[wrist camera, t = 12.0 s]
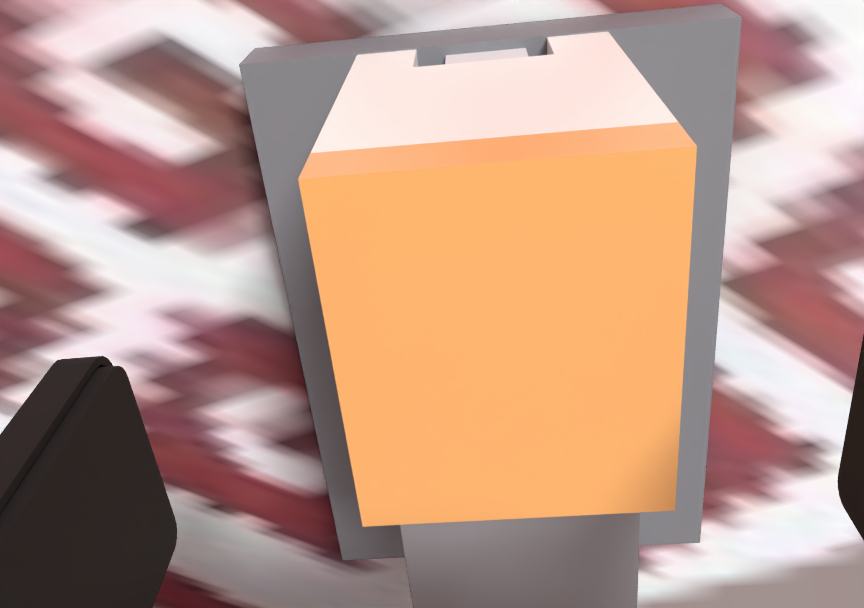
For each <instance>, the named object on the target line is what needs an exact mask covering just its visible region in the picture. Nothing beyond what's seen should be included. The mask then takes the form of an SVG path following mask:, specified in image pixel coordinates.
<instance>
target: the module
mask: <svg viewBox="0 0 864 608" xmlns="http://www.w3.org/2000/svg"><path fill="white" fill-rule="evenodd" d="M696 154H697V145H696V144H695V143H694V142H693V140H692V139H691V138H690V136H689V135H688V134H687V133H686V131H685V130H684V129H683V127H682V126H681V125H680V124H679V122H678V121H677V120H676V118H675V117H674V116H673V114H672V113H671V112H670V111H669V109H668V108H667V107H666V105H665V104H664V103H663V102H662V100H661V99H660V98H659V96H658V95H657V94H656V93H655V91H654V90H653V89H652V87H651V86H650V85H649V84H648V82H647V81H646V80H645V78H644V77H643V76H642V75H641V73H640V72H639V71H638V69H637V68H636V67H635V65H634V64H633V63H632V62H631V60H630V59H629V58H628V56H627V55H626V54H625V53H624V51H623V50H622V49H621V47H620V46H619V45H618V44H617V42H616V41H615V40H614V38H613V37H612V36H611V35H610V33H609V32H597V33H586V34H576V35H565V36H554V37H547V55H541V56H530V57H519V58H508V59H498V60H487V61H476V62H465V63H454V64H443V65H432V66H421V67H418V60H417V50H416V49H415V50H404V51H393V52H383V53H372V54H361V55H357V56H356V58H355V61H354V63H353V65H352V67H351V69H350V71H349V73H348V75H347V77H346V79H345V82H344V84H343V86H342V88H341V90H340V92H339V94H338V96H337V98H336V100H335V103H334V105H333V107H332V109H331V111H330V113H329V115H328V117H327V119H326V121H325V124H324V126H323V128H322V130H321V132H320V134H319V136H318V138H317V140H316V142H315V145H314V147H313V149H312V151H311V153H310V155H309V157H308V159H307V161H306V164H305V166H304V168H303V170H302V172H301V174H300V176H299V178H298V181H299V187H300V192H301V197H302V203H303V208H304V213H305V219H306V224H307V230H308V235H309V240H310V246H311V251H312V257H313V262H314V267H315V273H316V278H317V283H318V289H319V294H320V300H321V305H322V310H323V316H324V321H325V327H326V332H327V337H328V343H329V348H330V353H331V359H332V364H333V370H334V375H335V380H336V386H337V391H338V397H339V402H340V407H341V413H342V418H343V423H344V429H345V434H346V440H347V445H348V450H349V456H350V461H351V467H352V472H353V477H354V483H355V488H356V494H357V499H358V504H359V510H360V515H361V520H362V526H363V527H366V526H386V525H405V524H424V523H444V522H463V521H483V520H502V519H522V518H541V517H561V516H580V515H599V514H619V513H638V512H658V511H675V501H676V485H677V468H678V452H679V435H680V419H681V402H682V386H683V369H684V353H685V336H686V320H687V303H688V287H689V270H690V253H691V237H692V220H693V204H694V187H695V171H696Z"/></svg>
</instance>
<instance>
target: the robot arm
mask: <svg viewBox="0 0 864 608" xmlns="http://www.w3.org/2000/svg"><path fill="white" fill-rule="evenodd" d="M838 490H839V496H840V499H841V502H842V504H843V506H844V508H845V510H846V512H847V513H848V515H849V517H850V518H851V520H852V522H853V523H854V525H855V527H856V528H857V530H858V532H859V533H860V535H861V537H862V538H863V540H864V336H863V341H862V347H861V352H860V358H859V363H858V369H857V374H856V380H855V385H854V391H853V396H852V402H851V408H850V413H849V419H848V424H847V430H846V435H845V441H844V446H843V452H842V457H841V463H840V468H839V474H838ZM176 540H177V526H176V521H175V517H174V514H173V511H172V508H171V505H170V502H169V499H168V496H167V493H166V490H165V487H164V484H163V481H162V478H161V475H160V472H159V469H158V466H157V463H156V460H155V457H154V454H153V451H152V448H151V445H150V442H149V439H148V436H147V433H146V430H145V427H144V424H143V421H142V418H141V415H140V412H139V409H138V406H137V403H136V400H135V397H134V394H133V391H132V388H131V385H130V382H129V379H128V376H127V374H126V372H125V370H124V369H123V368H122V367H120V366H113V365H112V363H111V362H110V361H109V360H108V358H106V357H104V356H98V357H85V358H72V359H61V360H57V361H56V362H55V363H54V364H53V365H52V366H51V368H50V369H49V370H48V372H47V373H46V374H45V376H44V377H43V378H42V380H41V381H40V382H39V384H38V385H37V386H36V388H35V389H34V390H33V392H32V393H31V394H30V396H29V397H28V398H27V400H26V401H25V402H24V404H23V405H22V406H21V408H20V409H19V410H18V412H17V413H16V414H15V416H14V417H13V418H12V420H11V421H10V422H9V424H8V425H7V426H6V428H5V429H4V430H3V432H2V433H1V434H0V608H152V607H153V605H154V602H155V599H156V597H157V594H158V591H159V589H160V586H161V584H162V581H163V578H164V576H165V573H166V571H167V568H168V565H169V563H170V560H171V557H172V555H173V552H174V549H175V546H176Z"/></svg>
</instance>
